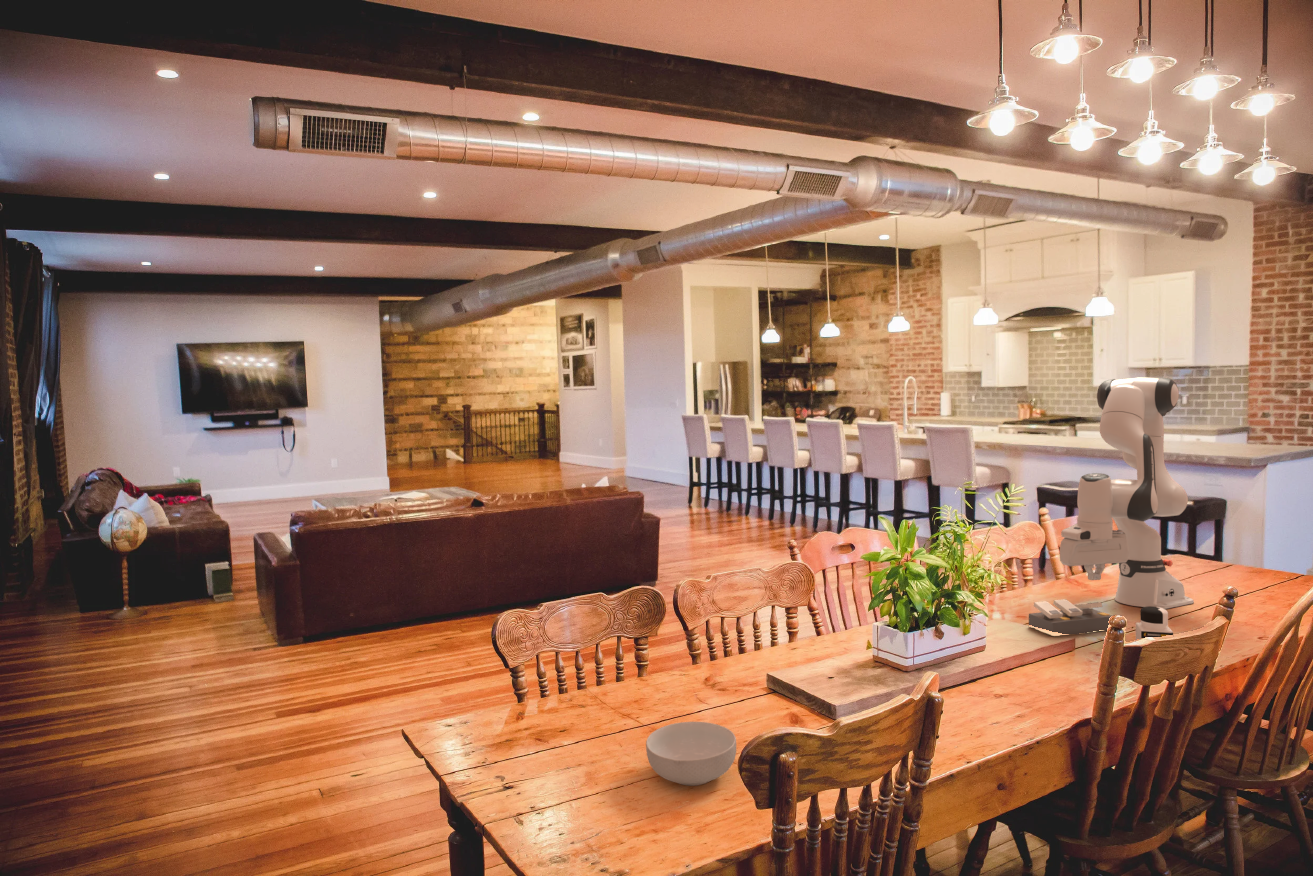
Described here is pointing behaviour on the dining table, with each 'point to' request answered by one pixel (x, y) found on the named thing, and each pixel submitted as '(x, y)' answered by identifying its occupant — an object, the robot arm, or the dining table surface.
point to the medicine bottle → (1153, 623)
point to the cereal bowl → (691, 752)
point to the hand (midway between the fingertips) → (1094, 579)
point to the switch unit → (1072, 622)
